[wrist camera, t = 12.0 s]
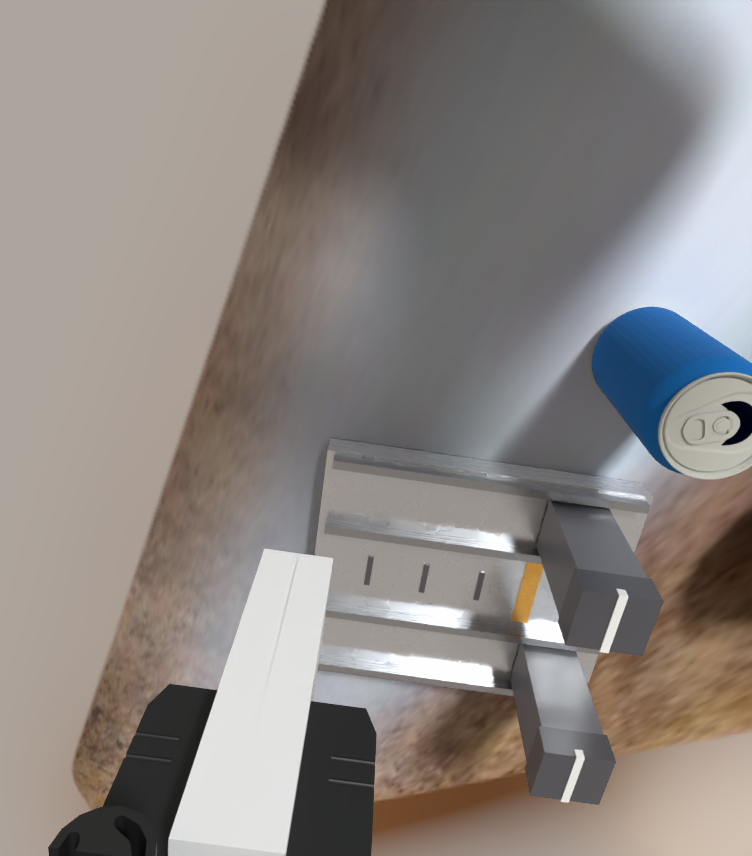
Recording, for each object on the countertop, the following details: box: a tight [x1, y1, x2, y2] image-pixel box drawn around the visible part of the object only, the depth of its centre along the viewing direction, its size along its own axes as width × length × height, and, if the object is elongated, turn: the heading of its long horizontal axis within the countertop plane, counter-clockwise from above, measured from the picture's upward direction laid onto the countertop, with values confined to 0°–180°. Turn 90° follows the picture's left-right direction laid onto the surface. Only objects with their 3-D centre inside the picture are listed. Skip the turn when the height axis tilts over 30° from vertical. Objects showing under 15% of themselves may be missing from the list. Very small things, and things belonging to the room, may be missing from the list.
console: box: [314, 438, 653, 696], centre depth 49 cm, size 18×22×3 cm
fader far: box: [510, 644, 616, 805], centre depth 47 cm, size 4×4×10 cm
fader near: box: [537, 500, 663, 656], centre depth 42 cm, size 4×4×10 cm
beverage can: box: [592, 307, 752, 480], centre depth 38 cm, size 6×6×12 cm
